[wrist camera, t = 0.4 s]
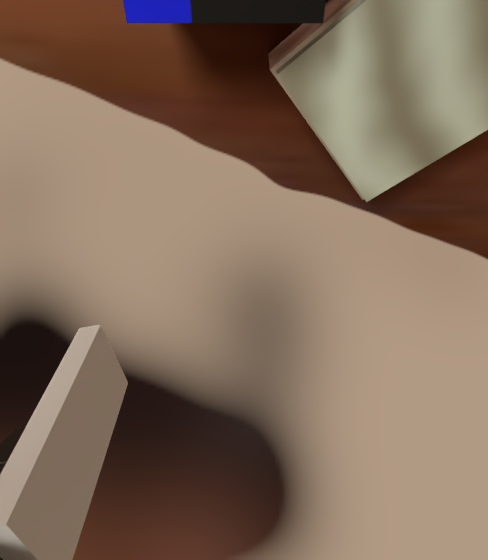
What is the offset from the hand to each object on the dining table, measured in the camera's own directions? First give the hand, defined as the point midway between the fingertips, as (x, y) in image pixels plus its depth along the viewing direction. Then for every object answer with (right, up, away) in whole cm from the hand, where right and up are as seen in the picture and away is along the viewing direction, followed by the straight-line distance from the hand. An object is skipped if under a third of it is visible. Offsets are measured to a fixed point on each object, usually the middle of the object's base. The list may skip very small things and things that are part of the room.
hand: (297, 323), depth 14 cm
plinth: (+9, +18, +17) cm, 26 cm away
